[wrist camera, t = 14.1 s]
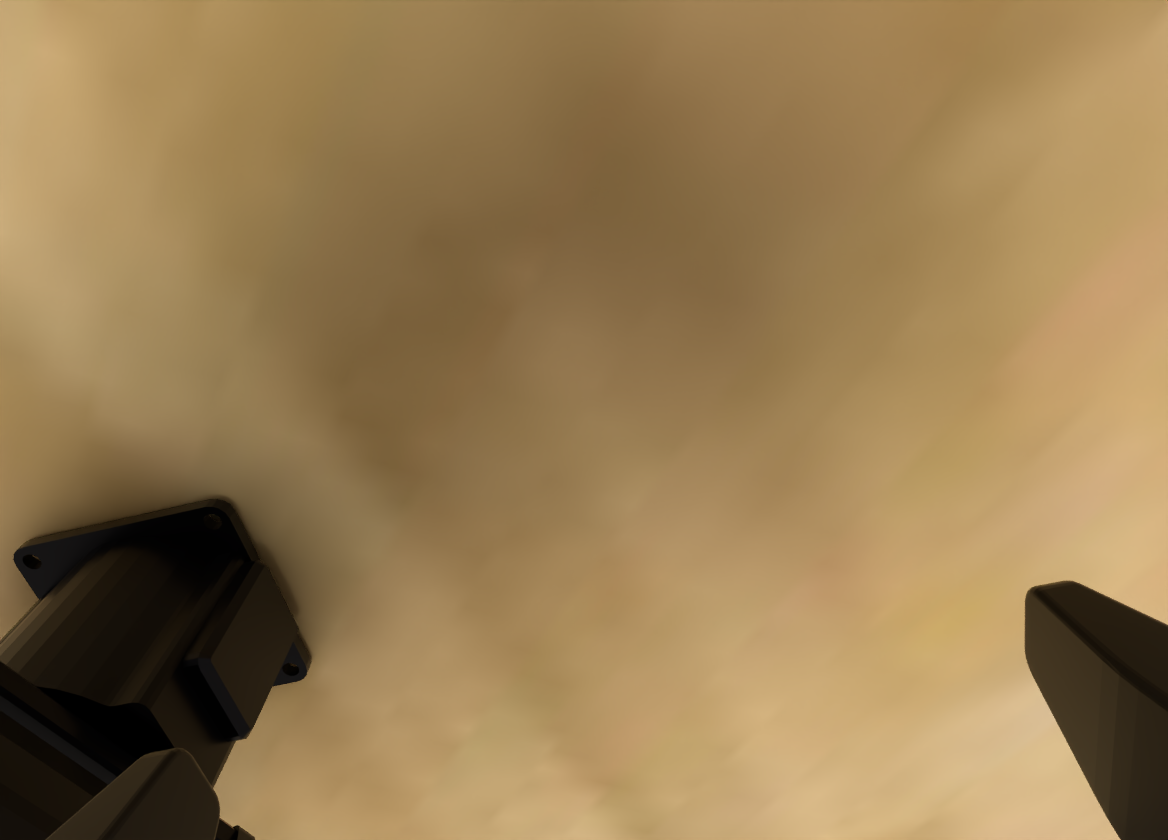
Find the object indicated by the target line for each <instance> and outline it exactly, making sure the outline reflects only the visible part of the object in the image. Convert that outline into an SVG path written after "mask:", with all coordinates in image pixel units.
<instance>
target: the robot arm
mask: <svg viewBox="0 0 1168 840" xmlns="http://www.w3.org/2000/svg"><path fill="white" fill-rule="evenodd" d="M210 514H214V515H216V516H218V517H219V518H220V519H221V520H222V522H217V521H215V520H213V519H212V518H211V517H210ZM32 555H34V556H37V557H38V558H39V559H40V560H41V561H40V560H38V559H36V558H35V557H34V556H32ZM14 562H15V564H16V566H17V568H18V569H19V571H20V572H21V574H22V575H23V577H24V578H25V579H26V581H27V582H28V584H29V585H30V587H31V588H32V590H33V591H34V593H35V594H36V596H37V597H38V599H39V600H38V601H37V602H36V604H35V605H34V606H33V607H32V608H31V609H30V610H29V611H28V612H27V613H26V614H25V615H24V616H23V617H22V618H21V619H20V620H19V621H18V622H17V623H16V625H15V626H14V627H13V628H12V629H11V630H10V631H9V632H8V633H7V634H6V635H5V636H4V637H3V638H2V639H1V640H0V840H255V837H253V836H252V835H251V834H249V833H248V832H247V831H245V830H244V829H242V828H241V827H240V826H238V825H237V826H234V827H232V826H231V825H229V824H228V823H226V822H225V821H224V820H222V819H221V818H219V817H220V807H219V801H218V797H217V795H216V793H215V791H214V790H213V787H214V785H215V783H216V781H217V779H218V777H219V775H220V773H221V771H222V769H223V767H224V764H225V762H226V760H227V758H228V756H229V754H230V752H231V750H232V748H233V746H234V744H235V742H236V741H237V740H242V739H246V738H247V737H248V736H249V734H250V732H251V731H252V729H253V727H254V725H255V723H256V720H257V718H258V716H259V714H260V712H261V710H262V708H263V705H264V703H265V701H266V699H267V697H268V695H269V692H270V690H271V688H272V686H277V685H282V684H287V683H292V682H297V681H300V680H302V679H303V678H304V677H305V676H306V675H307V672H308V670H309V668H310V665H311V659H310V656H309V654H308V652H307V650H306V648H305V646H304V644H303V642H302V640H301V638H300V637H299V635H298V633H297V632H298V626H297V624H296V622H295V620H294V618H293V616H292V614H291V613H290V611H289V609H288V607H287V605H286V603H285V601H284V599H283V597H282V595H281V593H280V591H279V589H278V587H277V585H276V583H275V581H274V579H273V577H272V575H271V573H270V571H269V569H268V567H267V566H266V565H265V564H264V563H263V562H262V561H261V560H260V558H259V556H258V554H257V552H256V550H255V548H254V546H253V544H252V542H251V540H250V538H249V537H248V535H247V533H246V531H245V529H244V527H243V525H242V523H241V521H240V519H239V517H238V515H237V513H236V511H235V510H234V508H233V507H232V506H231V505H230V504H229V503H227V502H226V501H223V500H220V499H210V500H206V501H201V502H197V503H192V504H188V505H183V506H179V507H174V508H170V509H165V510H161V511H156V512H152V513H147V514H143V515H138V516H134V517H129V518H125V519H120V520H116V521H112V522H107V523H103V524H98V525H94V526H89V527H85V528H80V529H76V530H71V531H67V532H62V533H58V534H53V535H49V536H44V537H40V538H35V539H31V540H29V541H27V542H25V543H24V544H23V545H22V546H21V547H20V548H19V549H18V550H17V551H16V552H15V553H14ZM1025 655H1026V659H1027V663H1028V666H1029V669H1030V671H1031V673H1032V675H1033V678H1034V679H1035V681H1036V683H1037V685H1038V687H1039V689H1040V691H1041V693H1042V695H1043V697H1044V699H1045V701H1046V702H1047V704H1048V706H1049V708H1050V710H1051V712H1052V714H1053V716H1054V718H1055V720H1056V722H1057V724H1058V726H1059V727H1060V729H1061V731H1062V733H1063V735H1064V737H1065V739H1066V741H1067V743H1068V745H1069V747H1070V749H1071V751H1072V752H1073V754H1074V756H1075V758H1076V760H1077V762H1078V764H1079V766H1080V768H1081V770H1082V772H1083V774H1084V775H1085V777H1086V779H1087V781H1088V783H1089V785H1090V787H1091V789H1092V791H1093V793H1094V795H1095V796H1096V798H1097V800H1098V802H1099V804H1100V806H1101V807H1102V809H1103V811H1104V813H1105V815H1106V817H1107V818H1108V820H1109V822H1110V823H1111V825H1112V826H1113V828H1114V830H1115V831H1116V833H1117V834H1118V836H1119V838H1120V839H1121V840H1168V625H1167V624H1165V623H1163V622H1160V621H1158V620H1156V619H1154V618H1152V617H1150V616H1148V615H1146V614H1143V613H1141V612H1139V611H1137V610H1135V609H1133V608H1131V607H1129V606H1127V605H1124V604H1122V603H1120V602H1118V601H1116V600H1114V599H1112V598H1110V597H1107V596H1105V595H1103V594H1101V593H1099V592H1097V591H1095V590H1093V589H1090V588H1088V587H1086V586H1084V585H1082V584H1080V583H1077V582H1074V581H1060V582H1055V583H1050V584H1044V585H1039V586H1035V587H1032V588H1031V589H1029V590H1028V592H1027V594H1026V598H1025ZM289 663H293V664H295V665H297V666H292V665H290V664H289Z"/></svg>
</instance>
